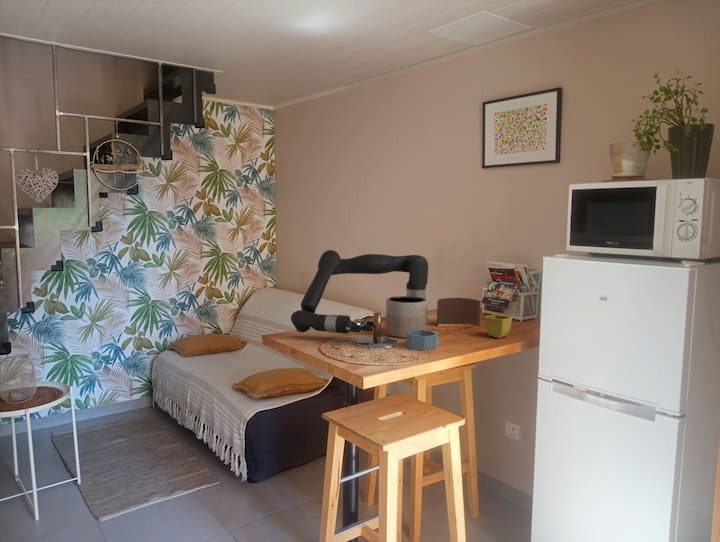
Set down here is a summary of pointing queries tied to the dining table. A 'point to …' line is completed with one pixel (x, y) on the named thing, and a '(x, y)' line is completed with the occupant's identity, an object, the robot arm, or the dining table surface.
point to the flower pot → (498, 325)
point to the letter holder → (458, 311)
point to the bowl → (422, 339)
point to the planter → (405, 315)
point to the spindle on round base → (377, 336)
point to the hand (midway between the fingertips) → (375, 326)
